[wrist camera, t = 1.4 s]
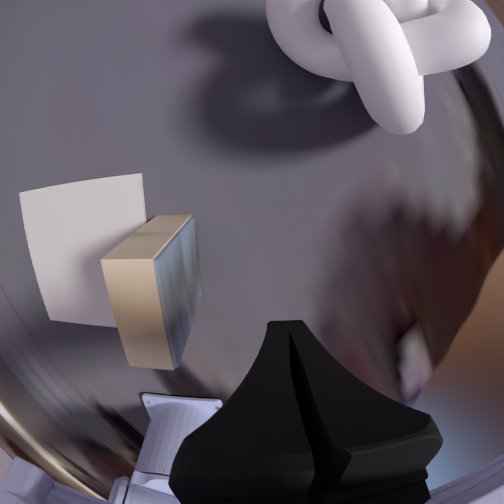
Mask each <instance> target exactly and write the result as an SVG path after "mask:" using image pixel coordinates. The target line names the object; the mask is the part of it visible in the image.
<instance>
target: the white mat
mask: <svg viewBox="0 0 504 504" xmlns="http://www.w3.org/2000/svg"><path fill="white" fill-rule="evenodd" d="M19 195H20V202H21V209H22V215H23V221H24V226H25V232H26V237H27V241H28V246H29V250H30V255H31V259H32V263H33V267H34V270H35V274H36V278H37V281H38V285H39V288H40V291H41V294H42V298H43V301H44V304H45V307H46V310H47V312H48V315H49V318H50V320H55V321H62V322H70V323H78V324H87V325H97V326H107V327H117V325H116V321H115V318H114V314H113V310H112V307H111V303H110V299H109V295H108V291H107V287H106V282H105V278H104V274H103V269H102V264H101V259H102V258H103V257H104V256H105V255H107V254H108V253H109V252H110V251H111V250H113V249H114V248H115V247H116V246H118V245H119V244H120V243H122V242H123V241H124V240H125V239H127V238H128V237H129V236H131V235H132V234H133V233H134V232H136V231H137V230H138V229H140V228H141V227H142V226H144V225H145V224H146V223H147V221H146V212H145V202H144V191H143V179H142V173H138V174H129V175H121V176H113V177H105V178H98V179H91V180H85V181H78V182H72V183H66V184H61V185H55V186H50V187H44V188H39V189H34V190H30V191H25V192H21V193H19Z"/></svg>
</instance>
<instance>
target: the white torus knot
mask: <svg viewBox="0 0 504 504" xmlns="http://www.w3.org/2000/svg"><path fill="white" fill-rule="evenodd" d="M320 2H321V0H266V15H267V20H268V24H269V28H270V30H271V32H272V35H273V37H274V39H275V41H276V42H277V44H278V45H279V46H280V48H281V49H282V51H283V52H284V53H285V54H286V55H287V56H288V57H289V58H290V59H291V60H292V61H294V62H295V63H296V64H298V65H299V66H300V67H302V68H304V69H306V70H308V71H309V72H311V73H314V74H317V75H319V76H323V77H327V78H332V79H336V80H340V81H346V82H354V84H355V86H356V89H357V91H358V93H359V95H360V97H361V100H362V102H363V104H364V106H365V108H366V109H367V111H368V113H369V115H370V116H371V117H372V119H373V120H374V121H375V122H376V123H378V124H379V125H380V126H381V127H382V128H383V129H384V130H386V131H387V132H390V133H393V134H397V135H405V134H409V133H412V132H415V130H416V129H417V128H418V127H419V126H420V125H421V124H422V122H423V118H424V111H425V105H424V88H423V75H427V74H434V73H440V72H445V71H449V70H453V69H457V68H460V67H463V66H465V65H468V64H470V63H472V62H474V61H475V60H477V59H479V58H480V57H481V56H482V55H483V54H484V53H485V52H486V50H487V48H488V46H489V42H490V39H491V29H490V26H489V23H488V21H487V18H486V16H485V15H484V13H483V11H482V10H481V9H480V8H479V7H477V6H476V5H475V4H474V3H473V2H472V1H470V0H324V7H323V9H324V11H325V13H326V15H327V18H328V20H329V24H330V27H331V30H332V32H333V34H330V33H329V32H327V31H326V30H325V29H324V28H323V27H322V25H321V23H320V21H319V14H318V13H319V5H320Z"/></svg>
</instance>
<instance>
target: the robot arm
mask: <svg viewBox="0 0 504 504" xmlns="http://www.w3.org/2000/svg"><path fill="white" fill-rule="evenodd" d="M142 400H143V402H144V405H145V407H146V410H147V412H148V414H149V417H150V419H151V420H150V423H149V426H148V429H147V432H146V435H145V439H144V442H143V445H142V448H141V451H140V454H139V458H138V461H137V464H136V467H135V471H134V472H133V475H132V478H131V481H129V478H127V477H125V476H122V478H118V479H116V480H115V482H114V485H113V488H112V491H111V493H110V497H109V500H108V501H104V500H101V499H98V498H95V497H93V496H90V495H87V494H84V493H82V492H79V491H76V490H74V489H71V488H69V487H67V486H64V485H62V484H60V483H57V482H55V481H53V480H52V478H51V477H50V476H49V475H48V474H47V473H46V472H44V471H43V470H42V469H40V468H38V467H37V466H35V465H33V464H31V463H29V462H27V461H25V460H23V459H22V458H20V457H18V456H15V458H14V460H13V462H12V463H11V465H10V468H9V469H8V471H7V473H6V475H5V477H4V479H3V481H2V483H1V485H0V504H504V454H503V455H501V456H500V457H498V458H496V459H495V460H493V461H491V462H489V463H487V464H486V465H484V466H482V467H480V468H478V469H477V470H475V471H473V472H471V473H469V474H467V475H465V476H463V477H461V478H459V479H457V480H455V481H452V482H450V483H448V484H445V485H443V486H441V487H438V488H436V489H433V490H431V491H429V490H428V487H427V485H426V482H425V479H427V478H428V473H427V471H426V468H425V467H426V466H427V465H428V464H429V463H430V461H431V460H432V459H433V458H434V457H435V455H436V454H437V453H438V451H439V450H440V448H441V446H442V443H443V438H442V436H441V434H440V432H439V430H438V428H437V426H436V424H435V422H434V421H433V419H432V417H431V416H430V415H429V414H426V413H423V412H421V411H418V410H415V409H413V408H410V407H407V406H405V405H403V404H400V403H398V402H396V401H394V400H392V399H390V398H388V397H386V396H384V395H382V394H381V393H379V392H377V391H376V390H374V389H372V388H371V387H369V386H368V385H366V384H365V383H363V382H362V381H360V380H359V379H358V378H356V377H355V376H354V375H353V374H351V373H350V372H349V371H348V370H346V369H345V368H344V367H343V366H342V365H341V364H340V363H339V362H338V361H337V360H336V359H335V358H334V357H333V356H332V355H331V354H330V353H329V352H328V351H327V350H326V349H325V348H324V347H323V345H322V344H321V343H320V342H319V341H318V340H317V338H316V337H315V336H314V335H313V333H312V332H311V331H310V329H309V328H308V327H307V325H306V324H305V323H304V322H303V321H302V320H289V321H270V322H268V323H267V331H266V335H265V338H264V341H263V344H262V346H261V349H260V351H259V353H258V356H257V358H256V359H255V361H254V363H253V365H252V367H251V369H250V370H249V372H248V374H247V375H246V377H245V378H244V380H243V381H242V383H241V384H240V385H239V387H238V388H237V389H236V391H235V392H234V393H233V394H232V396H231V397H230V398H229V399H228V400H227V401H226V403H225V404H224V405H222V401H221V400H219V399H204V398H188V397H176V396H165V395H156V394H147V393H144V394H143V395H142Z"/></svg>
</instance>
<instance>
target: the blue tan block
mask: <svg viewBox="0 0 504 504" xmlns="http://www.w3.org/2000/svg"><path fill="white" fill-rule="evenodd" d="M101 264H102V269H103V274H104V278H105V282H106V287H107V291H108V295H109V299H110V303H111V307H112V310H113V314H114V318H115V321H116V325H117V328H118V331H119V335H120V338H121V341H122V344H123V348H124V351H125V354H126V357H127V360H128V363H129V365H130V366H134V367H144V368H154V369H165V370H174V369H175V368H178V366H179V363H180V360H181V357H182V354H183V350H184V347H185V344H186V341H187V338H188V335H189V332H190V329H191V326H192V323H193V320H194V317H195V314H196V311H197V308H198V305H199V302H200V299H201V296H202V291H201V282H200V272H199V262H198V251H197V239H196V227H195V216H192V214H187V215H166V216H156V217H154V218H153V219H152V220H150V221H149V222H148V223H146V224H145V225H144V226H142V227H141V228H140V229H138V230H137V231H136V232H134V233H133V234H132V235H131V236H129V237H128V238H127V239H125V240H124V241H123V242H122V243H120V244H119V245H118V246H116V247H115V248H114V249H113V250H111V251H110V252H109V253H108V254H107V255H105V256H104V257H103V258H102V259H101Z"/></svg>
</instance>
